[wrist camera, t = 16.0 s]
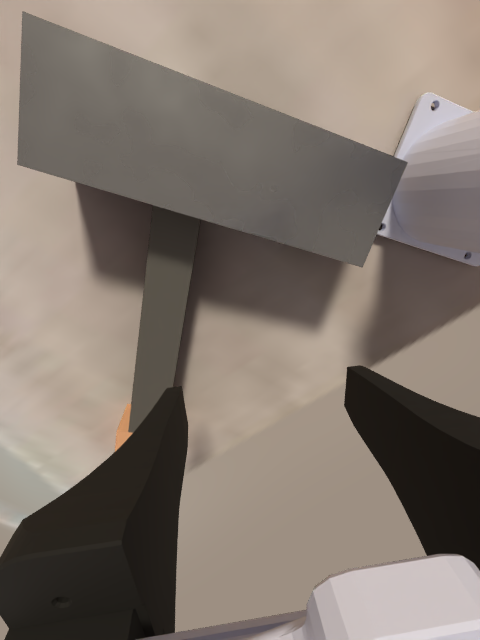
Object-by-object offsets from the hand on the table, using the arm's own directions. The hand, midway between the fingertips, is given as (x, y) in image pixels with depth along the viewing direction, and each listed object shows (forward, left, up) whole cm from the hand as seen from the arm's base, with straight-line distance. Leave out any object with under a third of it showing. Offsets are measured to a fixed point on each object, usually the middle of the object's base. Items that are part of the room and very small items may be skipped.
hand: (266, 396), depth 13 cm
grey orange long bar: (+5, +4, -9) cm, 11 cm away
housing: (+4, -8, -9) cm, 13 cm away
